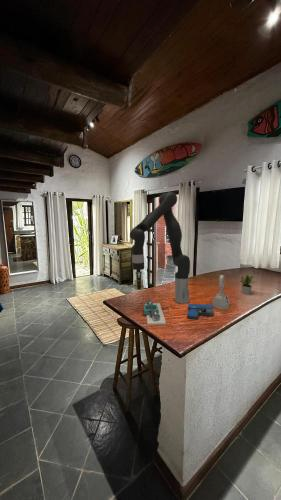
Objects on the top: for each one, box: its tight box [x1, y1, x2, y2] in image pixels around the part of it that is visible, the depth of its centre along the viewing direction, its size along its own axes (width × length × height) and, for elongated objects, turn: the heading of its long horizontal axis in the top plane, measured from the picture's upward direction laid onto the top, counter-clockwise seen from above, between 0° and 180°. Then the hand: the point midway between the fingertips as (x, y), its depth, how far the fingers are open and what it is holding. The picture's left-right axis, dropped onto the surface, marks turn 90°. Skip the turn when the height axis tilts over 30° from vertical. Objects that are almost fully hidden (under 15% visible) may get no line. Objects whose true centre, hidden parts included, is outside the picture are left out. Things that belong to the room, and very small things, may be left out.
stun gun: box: [186, 303, 215, 320], centre depth 126 cm, size 4×16×15 cm
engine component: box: [212, 274, 230, 310], centre depth 137 cm, size 11×20×10 cm
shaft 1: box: [146, 298, 154, 305], centre depth 137 cm, size 8×4×4 cm, turn 2°
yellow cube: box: [134, 279, 144, 291], centre depth 132 cm, size 5×5×5 cm
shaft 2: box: [149, 309, 160, 321], centre depth 121 cm, size 8×4×4 cm, turn 22°
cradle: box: [143, 304, 159, 316], centre depth 129 cm, size 8×8×3 cm
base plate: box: [144, 302, 167, 326], centre depth 129 cm, size 10×28×1 cm, turn 2°
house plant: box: [238, 272, 257, 296], centre depth 158 cm, size 14×14×16 cm
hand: (139, 287), depth 132 cm, fingers closed on yellow cube, 5 cm apart
